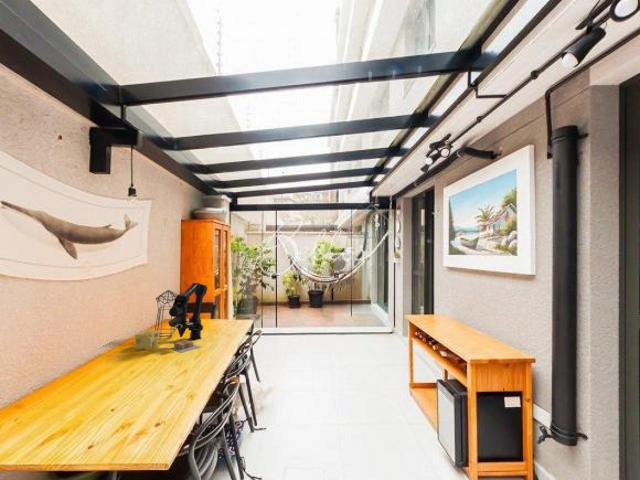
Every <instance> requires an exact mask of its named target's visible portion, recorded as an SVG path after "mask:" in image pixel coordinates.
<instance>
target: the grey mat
mask: <svg viewBox="0 0 640 480" xmlns="http://www.w3.org/2000/svg"><path fill="white" fill-rule="evenodd" d="M199 347H200V348H201V346H200V345H196V344H193V347H190V348H187V349H183V350H181V349H178V348H175V347H172V348H171V350H172V351H175V352H178V353H185V352H189V351H192V350H196V349H199Z"/></svg>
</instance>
